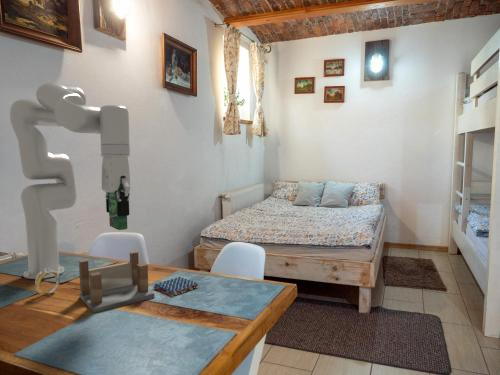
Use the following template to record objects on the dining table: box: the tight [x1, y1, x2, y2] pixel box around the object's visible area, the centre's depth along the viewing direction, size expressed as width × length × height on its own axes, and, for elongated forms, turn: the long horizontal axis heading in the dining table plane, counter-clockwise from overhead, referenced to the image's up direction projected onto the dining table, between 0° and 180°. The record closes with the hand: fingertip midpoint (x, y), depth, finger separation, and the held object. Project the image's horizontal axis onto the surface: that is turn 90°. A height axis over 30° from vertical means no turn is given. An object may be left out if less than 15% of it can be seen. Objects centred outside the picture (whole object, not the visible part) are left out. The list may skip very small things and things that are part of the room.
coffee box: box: [107, 182, 128, 231], centre depth 106 cm, size 8×3×13 cm, turn 37°
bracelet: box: [34, 267, 61, 295], centre depth 114 cm, size 7×3×8 cm, turn 141°
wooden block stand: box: [78, 250, 155, 314], centre depth 111 cm, size 14×17×11 cm
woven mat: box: [152, 276, 199, 297], centre depth 119 cm, size 10×11×2 cm
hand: (117, 213), depth 106 cm, fingers closed on coffee box, 8 cm apart
